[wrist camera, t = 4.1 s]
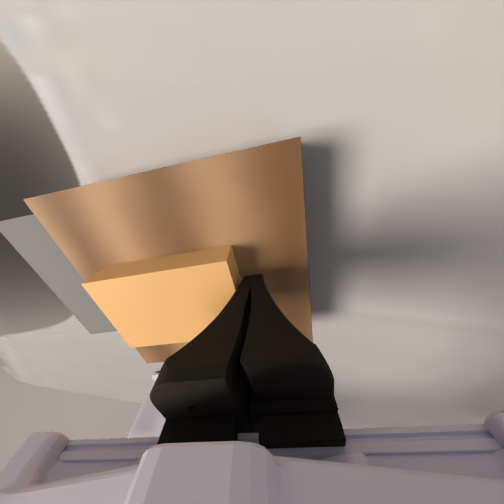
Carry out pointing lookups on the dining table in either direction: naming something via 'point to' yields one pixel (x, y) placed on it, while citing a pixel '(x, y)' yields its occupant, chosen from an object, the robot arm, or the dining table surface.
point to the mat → (55, 270)
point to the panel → (195, 222)
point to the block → (165, 295)
